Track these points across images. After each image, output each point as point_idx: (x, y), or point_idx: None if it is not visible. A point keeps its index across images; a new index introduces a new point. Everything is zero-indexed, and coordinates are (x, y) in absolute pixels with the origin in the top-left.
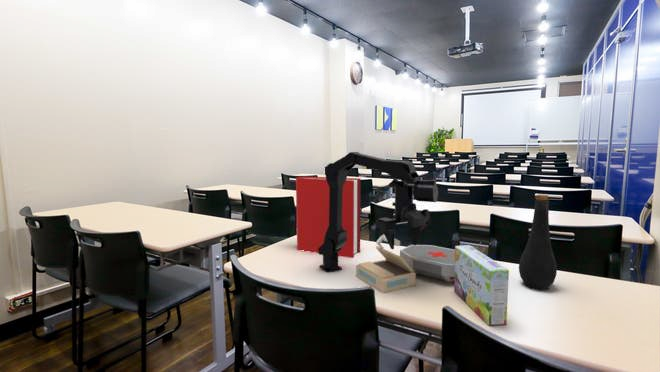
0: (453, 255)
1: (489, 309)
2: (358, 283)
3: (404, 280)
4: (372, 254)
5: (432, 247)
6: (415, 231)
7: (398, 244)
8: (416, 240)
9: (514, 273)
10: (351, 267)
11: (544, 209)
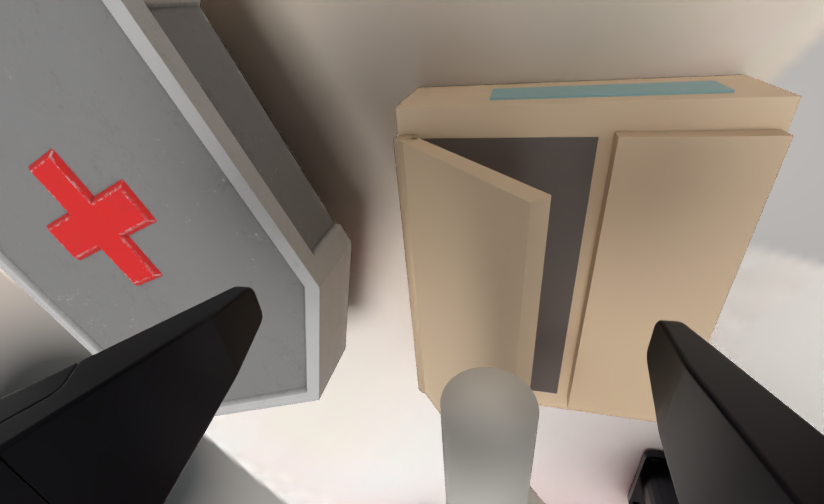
0: None
1: None
2: (736, 288)
3: (520, 92)
4: (383, 470)
5: (97, 332)
6: (74, 474)
7: (482, 383)
8: (188, 320)
9: None
10: (578, 439)
11: None
